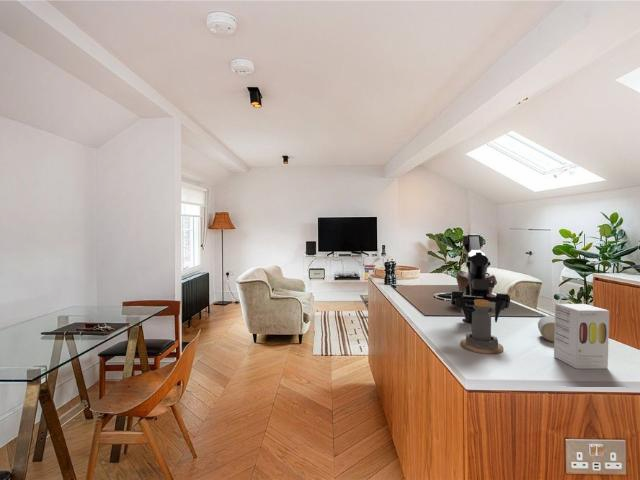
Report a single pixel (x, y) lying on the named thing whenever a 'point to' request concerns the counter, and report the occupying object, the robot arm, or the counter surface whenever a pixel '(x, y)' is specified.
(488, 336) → the bottle
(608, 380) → the counter surface
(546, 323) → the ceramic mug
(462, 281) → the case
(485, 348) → the ring coaster
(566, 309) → the supplement box
